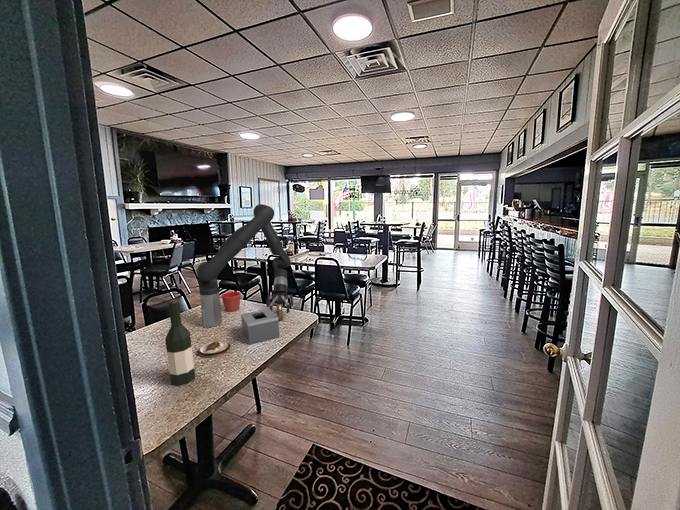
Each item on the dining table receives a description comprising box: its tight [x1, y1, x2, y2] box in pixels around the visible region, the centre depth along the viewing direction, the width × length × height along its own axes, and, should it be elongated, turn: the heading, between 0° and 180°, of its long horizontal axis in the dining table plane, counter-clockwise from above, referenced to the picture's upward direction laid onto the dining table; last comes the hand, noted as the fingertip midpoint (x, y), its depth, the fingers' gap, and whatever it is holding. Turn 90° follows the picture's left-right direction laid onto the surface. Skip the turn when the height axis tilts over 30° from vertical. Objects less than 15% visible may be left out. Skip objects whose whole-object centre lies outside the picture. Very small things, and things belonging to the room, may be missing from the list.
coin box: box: [240, 308, 280, 346], centre depth 143 cm, size 14×14×10 cm
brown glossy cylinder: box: [275, 303, 284, 323], centre depth 161 cm, size 3×3×9 cm
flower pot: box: [221, 291, 241, 313], centre depth 179 cm, size 11×11×10 cm
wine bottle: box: [164, 298, 196, 387], centre depth 107 cm, size 8×8×30 cm
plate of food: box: [198, 339, 232, 359], centre depth 130 cm, size 15×15×4 cm
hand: (279, 313), depth 160 cm, fingers open, 8 cm apart
